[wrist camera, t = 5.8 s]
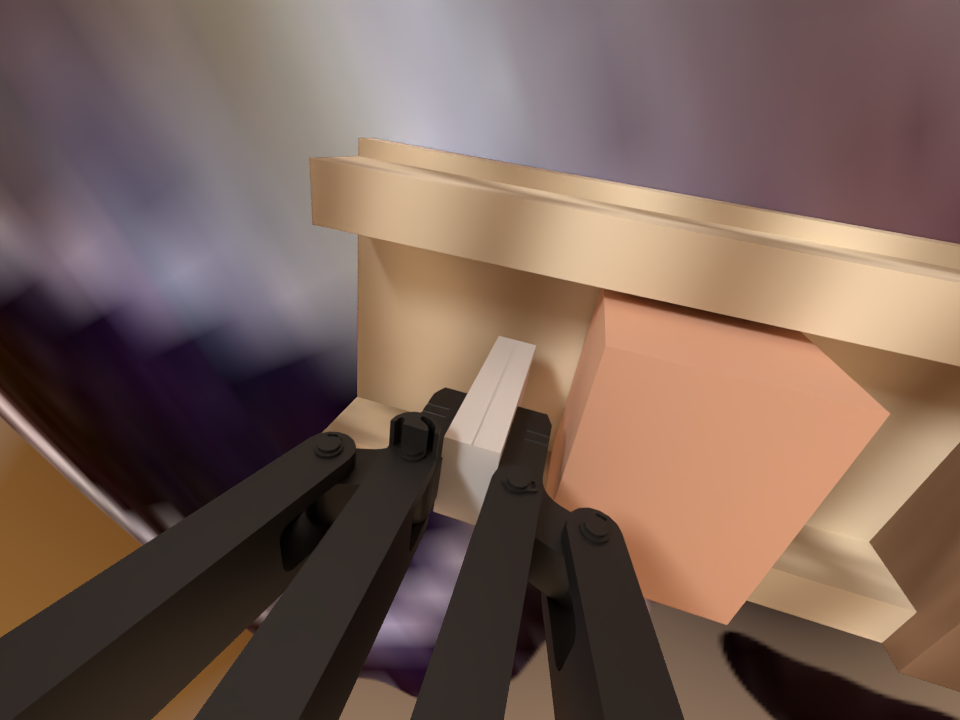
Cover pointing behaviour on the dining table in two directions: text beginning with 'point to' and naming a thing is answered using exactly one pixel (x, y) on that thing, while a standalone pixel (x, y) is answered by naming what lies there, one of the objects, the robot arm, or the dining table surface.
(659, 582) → the block
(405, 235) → the chute
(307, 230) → the dining table surface
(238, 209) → the dining table surface
